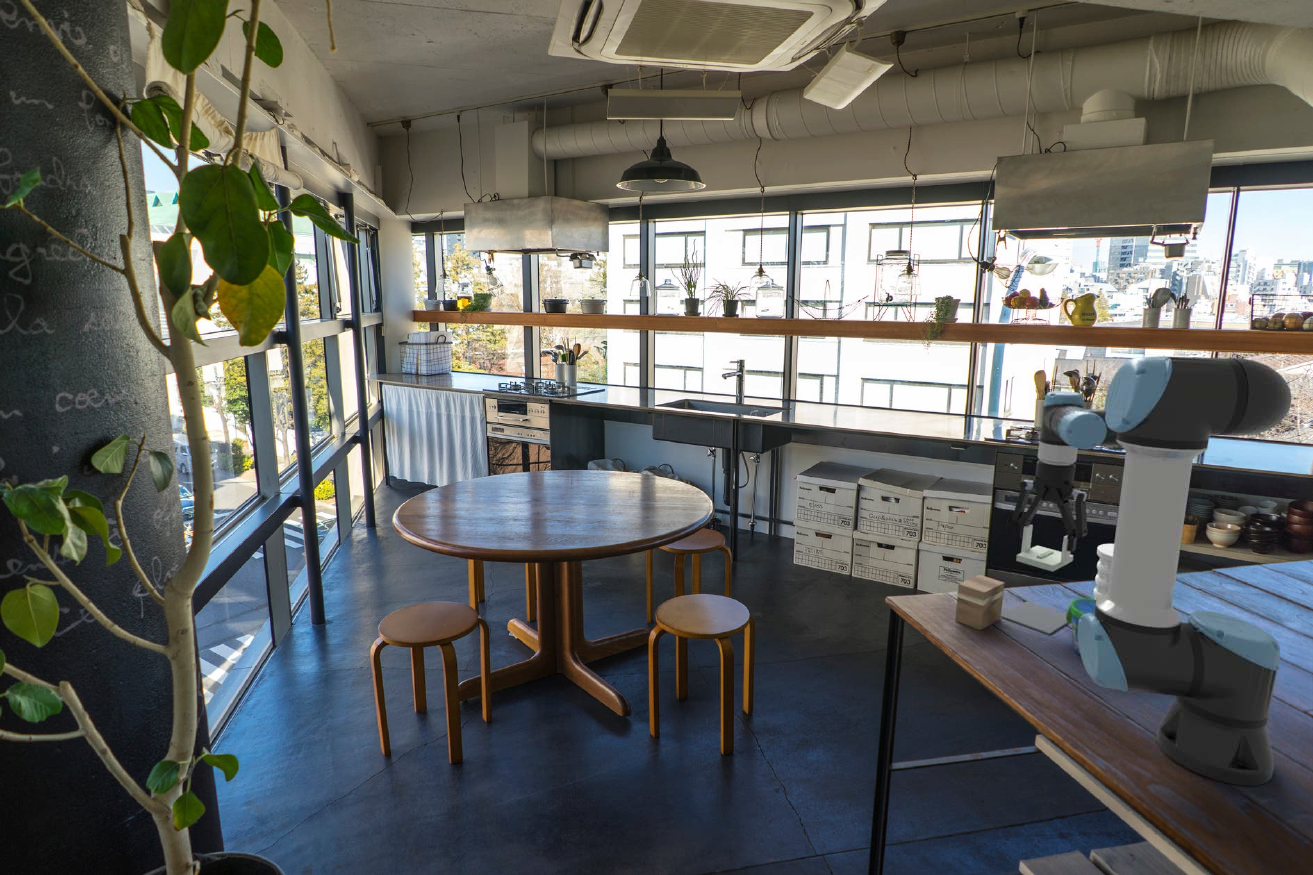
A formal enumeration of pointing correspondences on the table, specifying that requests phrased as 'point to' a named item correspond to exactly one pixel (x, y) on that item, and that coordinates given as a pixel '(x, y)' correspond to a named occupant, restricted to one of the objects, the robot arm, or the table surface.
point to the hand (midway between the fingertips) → (1044, 557)
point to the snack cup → (1074, 614)
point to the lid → (1042, 558)
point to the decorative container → (1103, 570)
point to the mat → (1036, 617)
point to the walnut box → (979, 601)
